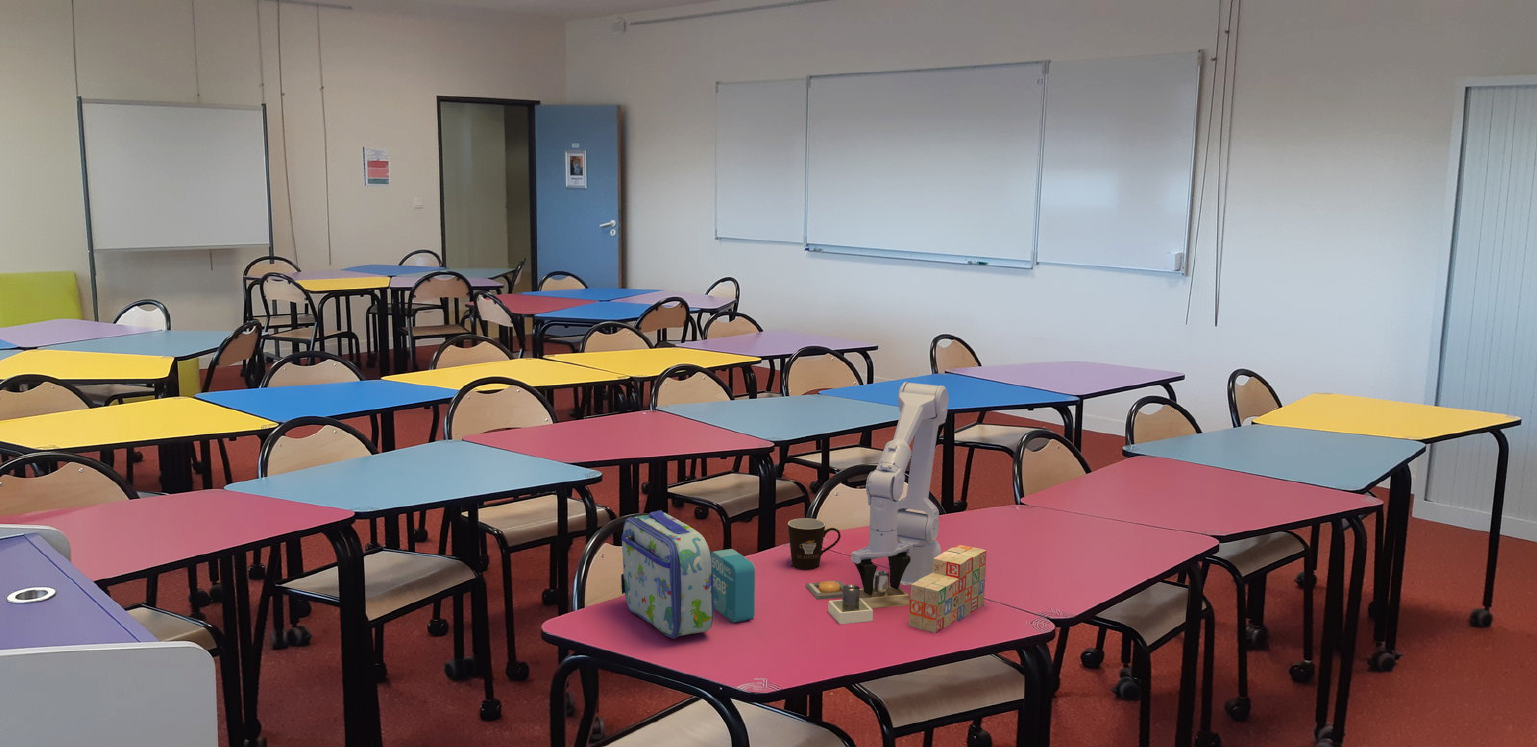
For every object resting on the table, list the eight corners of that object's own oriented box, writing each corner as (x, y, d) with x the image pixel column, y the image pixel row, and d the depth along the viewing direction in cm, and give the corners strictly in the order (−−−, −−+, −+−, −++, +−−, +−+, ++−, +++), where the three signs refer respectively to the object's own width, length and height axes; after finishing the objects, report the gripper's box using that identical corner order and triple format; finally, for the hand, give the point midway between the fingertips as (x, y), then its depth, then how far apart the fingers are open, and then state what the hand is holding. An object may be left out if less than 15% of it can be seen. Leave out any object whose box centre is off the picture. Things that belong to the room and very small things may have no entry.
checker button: (835, 588, 238) (835, 579, 238) (842, 595, 234) (842, 586, 233) (816, 590, 237) (816, 581, 236) (822, 597, 232) (823, 588, 232)
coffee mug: (782, 569, 250) (783, 526, 249) (792, 557, 259) (793, 516, 257) (832, 574, 247) (833, 532, 246) (840, 563, 255) (842, 521, 254)
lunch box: (615, 604, 227) (615, 506, 224) (663, 595, 232) (663, 500, 229) (667, 649, 205) (667, 541, 201) (718, 639, 210) (719, 533, 207)
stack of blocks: (936, 636, 213) (938, 575, 211) (908, 628, 217) (910, 569, 215) (984, 605, 230) (987, 548, 228) (957, 598, 234) (959, 543, 232)
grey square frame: (840, 585, 240) (840, 579, 240) (853, 598, 232) (853, 591, 232) (805, 588, 238) (805, 582, 238) (817, 601, 230) (817, 594, 230)
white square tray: (860, 610, 226) (860, 597, 225) (872, 623, 219) (873, 610, 218) (828, 613, 224) (828, 600, 223) (839, 626, 217) (840, 613, 217)
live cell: (881, 596, 232) (882, 567, 231) (891, 601, 229) (892, 572, 228) (868, 599, 230) (869, 570, 229) (878, 604, 227) (879, 574, 226)
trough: (898, 597, 234) (898, 585, 233) (908, 607, 228) (909, 595, 228) (853, 601, 231) (853, 589, 230) (862, 611, 225) (863, 599, 225)
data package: (709, 605, 227) (710, 549, 226) (729, 601, 229) (730, 546, 228) (734, 625, 217) (735, 567, 215) (755, 621, 219) (755, 563, 217)
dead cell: (855, 612, 223) (856, 581, 222) (861, 618, 220) (862, 587, 219) (839, 613, 222) (840, 583, 221) (845, 619, 219) (846, 588, 218)
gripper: (899, 518, 234) (897, 579, 236) (843, 527, 227) (841, 590, 229) (920, 526, 228) (917, 589, 230) (863, 536, 221) (861, 600, 223)
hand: (881, 590), depth 229 cm, fingers open, 6 cm apart
